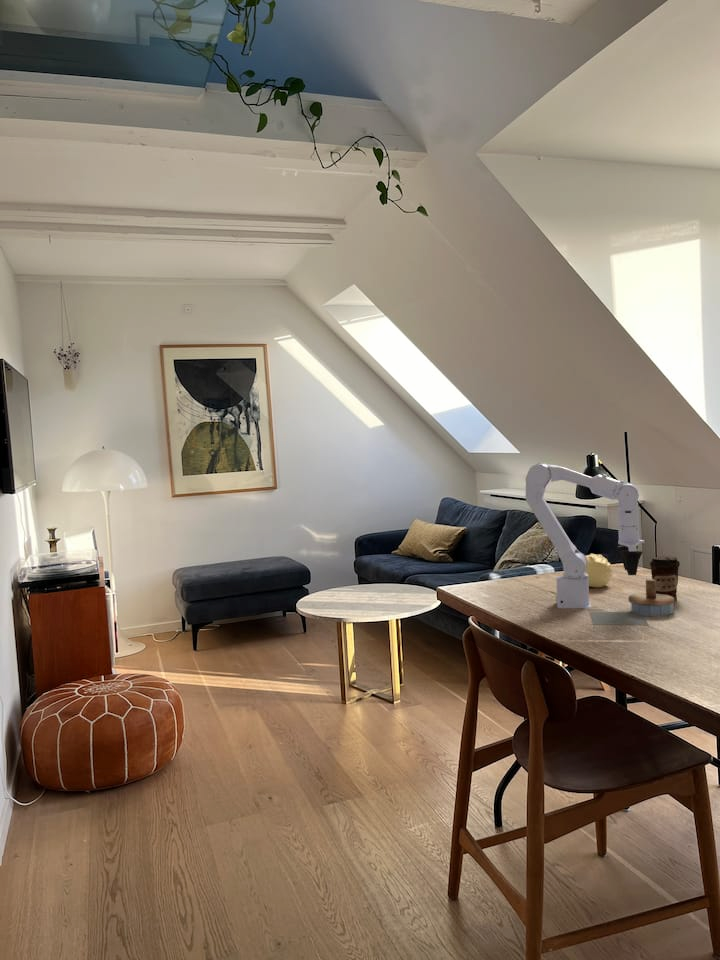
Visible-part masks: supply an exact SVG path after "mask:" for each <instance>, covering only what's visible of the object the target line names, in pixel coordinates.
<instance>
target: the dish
mask: <svg viewBox="0 0 720 960" xmlns="http://www.w3.org/2000/svg"><path fill="white" fill-rule="evenodd" d="M630 612H632V613H635V614H638V615H643V616H644V617H667V616H671V615H673V614H674V613H675V602H674V603H672V604H669V605H662V606H648V605H639V604H634V603H631V602H630Z"/></svg>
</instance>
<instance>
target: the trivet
mask: <svg viewBox="0 0 720 960" xmlns="http://www.w3.org/2000/svg"><path fill="white" fill-rule="evenodd" d="M588 614H589V615H590V619H591V622H592V625H593V626H649V625H650V624H649V623H648V621H647V619H646V616H643V615H638V614H635V613H632V611H589V613H588Z"/></svg>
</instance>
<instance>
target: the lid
mask: <svg viewBox="0 0 720 960" xmlns="http://www.w3.org/2000/svg"><path fill="white" fill-rule="evenodd" d="M627 597H628V602H630V604H631V603H634V604H639V605H648V606H662V605H669V604H672V603H674V604H675V601H674V597H672V596H669V595H664V594H656V580H653V579H652V578H651V579H650V578H648V579H646V580H645V592H644V593H635V594H630V595H629V596H627Z"/></svg>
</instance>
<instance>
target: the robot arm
mask: <svg viewBox="0 0 720 960" xmlns="http://www.w3.org/2000/svg"><path fill="white" fill-rule="evenodd" d="M550 481H551V483H553V482H558V481H566V482H569V483H572V484H575V485H579V486H583V487H586V488H589V489H590V491H591V493H592V494H594V495H597V496H600V497H604V498H607V499H610V500H613V501H614V500H617V501H618V509H617V525H618V527H617V528H618V542H617V544H618V545H617V549H618V550H619V553H620V555H621V559H622V563H623V568H624V570H625V571H627V575H628V576H636V575H637V572H638V567H639V562H640V558H641V556H642V555H643V550H638V548H639V545H641V544H645V540H644V539H640V538H641V536H640V512H639V511H640V510H639V502H638V500H639V497H640V496H639V495H640V494H639V491H638V488H637V487H636V486H635V484H632V483H630V482H625V480H623V479H620V480H617V479H614V478H611V477H608V475H607V474H605V473H603V474H602V475H601V474H597V475H595V476H591V475H590V476H589V475H586V474H584V473H581V472H578V471H575V470H572V469H570V468H567V467H564V466H560V465H556V464H548V463H546V462H538V463H537V464H533V465H532V466H530V468H529V469H528V471H527V474H526V476H525V496H524V497H525V498H524V499H525V501H526V502H527V504H528V506H529V508H530V509H531V511H532V513H533V514H534V516H535V517H536V519H537V521H538V522H539V524H540V526H541V527H542V528H543V530H544V532H545V533H546V536H547V537H548V538H549V540H550V541H551V543H552V545H553V547H554V548H555V550H556V551H557V554H558V557H559V559H560V561H561V563H562V569H563V574H562V576H556V578H555V580H556V582H555V584H556V595H555V602H556V603H557V604H556V605H557V608H558V609H592V605H591V602H590V591H589V588H590V586H589V583H588V574H587V573H586V572H585V568H586V566H587V558H586V557H585V556H586V555H585V554H584V553H582V552H581V551H579V550H578V549H577V546H576V545H575V544H573V542H572V541H571V539H570V538H569V536H568V535H567V532H565V530H564V528H563V527H562V524H561V523H560V522H559V520H558V519H557V517H556V514H555V513H554V512H553V510H552V509H551V506H550V505H549V504H548V502H547V501H546V499H545V497H544V496H545V493H546V488H547V485H548V484H549V483H550Z"/></svg>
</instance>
